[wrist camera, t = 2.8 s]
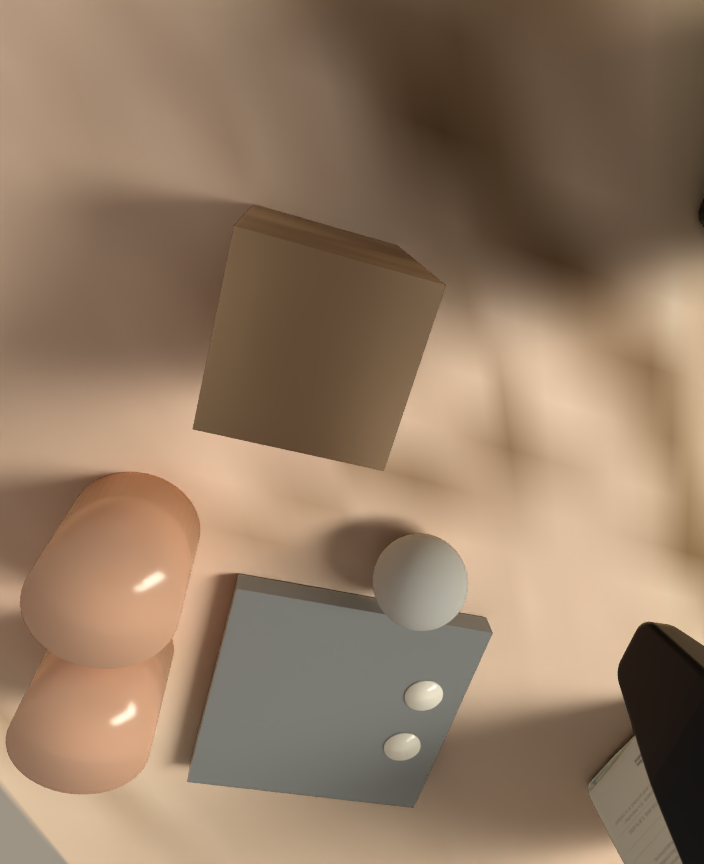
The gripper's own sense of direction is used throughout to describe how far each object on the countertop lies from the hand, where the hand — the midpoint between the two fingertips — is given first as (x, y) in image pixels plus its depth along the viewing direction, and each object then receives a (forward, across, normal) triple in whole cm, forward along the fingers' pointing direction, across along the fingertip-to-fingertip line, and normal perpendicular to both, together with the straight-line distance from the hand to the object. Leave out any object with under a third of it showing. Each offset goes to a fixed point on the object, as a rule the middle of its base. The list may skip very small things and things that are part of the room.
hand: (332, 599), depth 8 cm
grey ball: (+11, -5, +6) cm, 13 cm away
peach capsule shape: (+11, +5, +12) cm, 16 cm away
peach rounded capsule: (+11, +4, +7) cm, 13 cm away
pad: (+11, -3, +12) cm, 17 cm away
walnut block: (+11, +1, -2) cm, 11 cm away
